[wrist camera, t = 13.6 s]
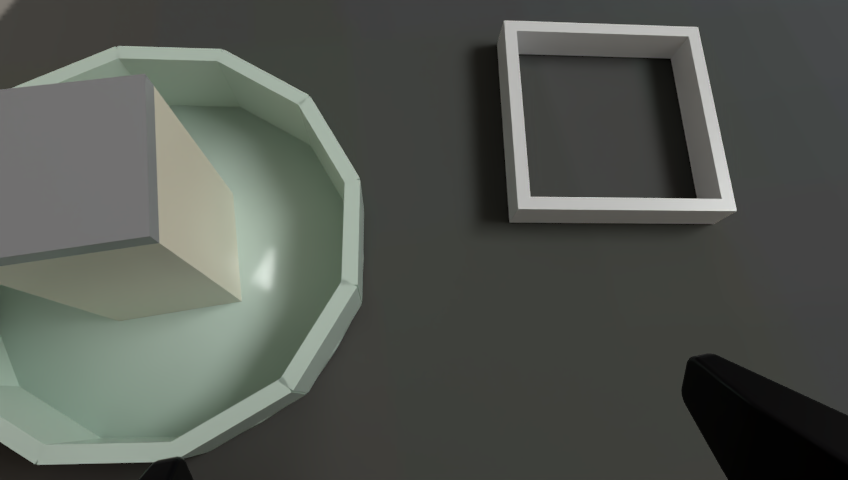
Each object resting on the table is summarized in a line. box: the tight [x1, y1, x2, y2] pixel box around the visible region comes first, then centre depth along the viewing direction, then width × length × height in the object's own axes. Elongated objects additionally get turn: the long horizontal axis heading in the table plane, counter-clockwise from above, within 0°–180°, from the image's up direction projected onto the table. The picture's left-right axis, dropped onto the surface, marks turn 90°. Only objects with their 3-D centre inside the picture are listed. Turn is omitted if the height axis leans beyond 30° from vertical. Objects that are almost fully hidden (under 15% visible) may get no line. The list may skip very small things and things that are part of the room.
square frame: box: [497, 21, 737, 224], centre depth 26 cm, size 10×10×2 cm
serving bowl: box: [0, 46, 364, 465], centre depth 21 cm, size 16×16×4 cm
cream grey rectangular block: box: [0, 74, 242, 321], centre depth 18 cm, size 5×5×9 cm
